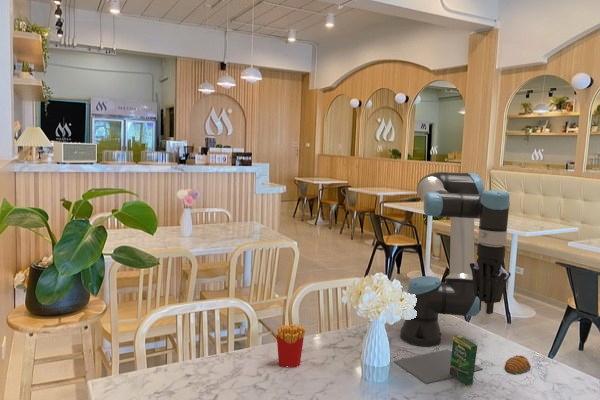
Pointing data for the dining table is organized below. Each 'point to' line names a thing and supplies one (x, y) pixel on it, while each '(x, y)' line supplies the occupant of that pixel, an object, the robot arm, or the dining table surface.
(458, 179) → the robot arm
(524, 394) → the dining table surface
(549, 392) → the dining table surface
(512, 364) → the pastry
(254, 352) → the dining table surface
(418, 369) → the slate mat
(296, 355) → the french fries
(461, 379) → the coffee box
